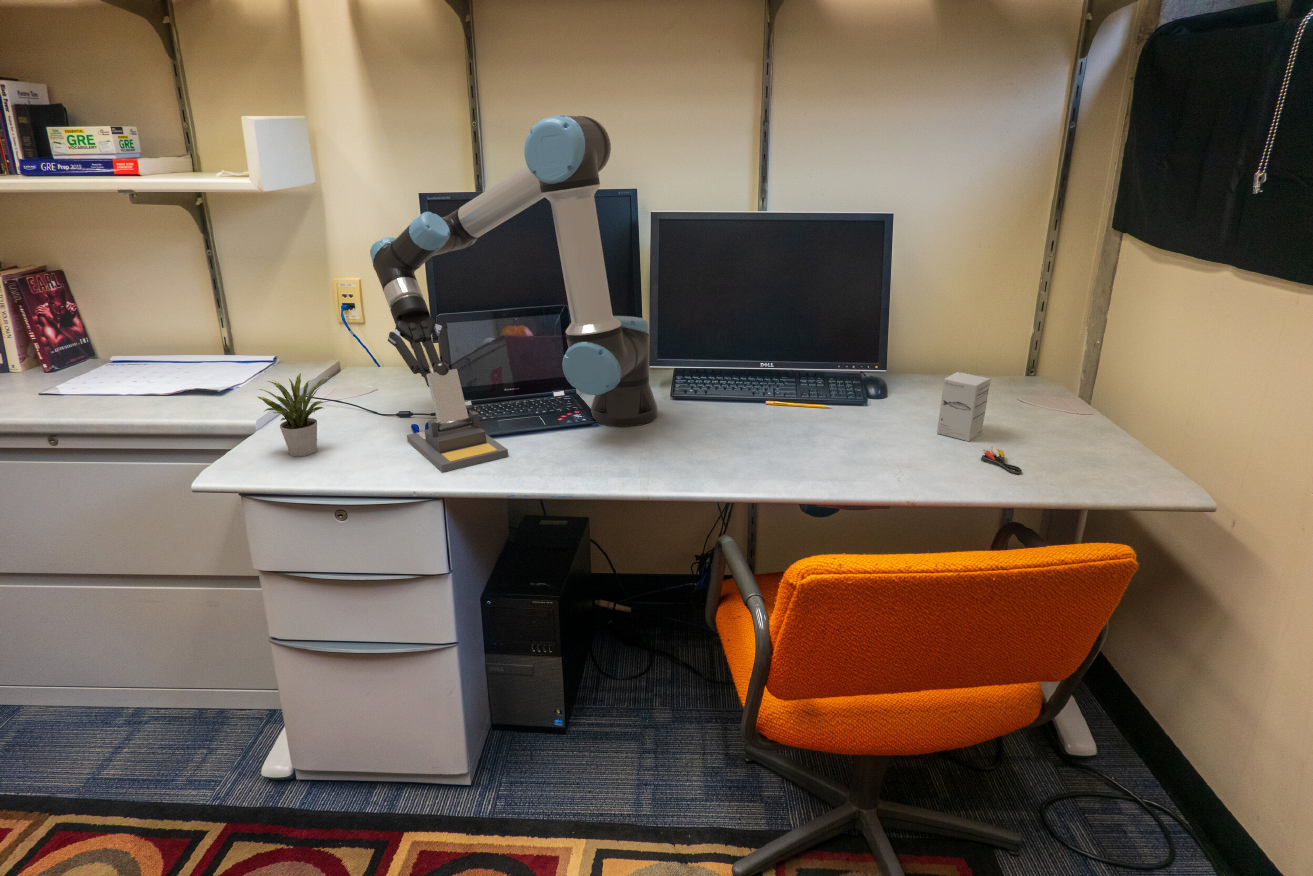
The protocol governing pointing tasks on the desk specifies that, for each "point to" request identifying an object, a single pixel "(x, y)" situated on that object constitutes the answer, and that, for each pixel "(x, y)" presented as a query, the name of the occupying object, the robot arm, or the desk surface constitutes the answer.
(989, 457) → the composite cable
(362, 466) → the desk surface
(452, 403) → the toggle lever
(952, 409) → the supplement box
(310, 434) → the house plant
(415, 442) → the switch unit
